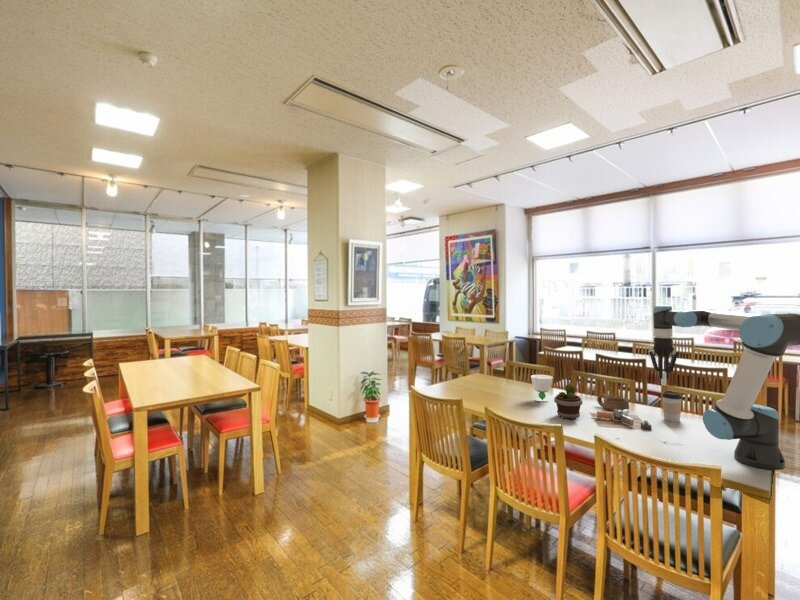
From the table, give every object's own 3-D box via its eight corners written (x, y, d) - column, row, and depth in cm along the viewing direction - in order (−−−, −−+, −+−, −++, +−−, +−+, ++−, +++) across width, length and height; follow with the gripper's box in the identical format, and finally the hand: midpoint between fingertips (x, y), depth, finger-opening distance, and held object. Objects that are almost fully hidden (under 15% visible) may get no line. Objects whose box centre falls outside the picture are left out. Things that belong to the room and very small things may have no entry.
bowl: (590, 408, 225) (592, 391, 227) (600, 410, 234) (601, 394, 236) (623, 414, 212) (624, 396, 214) (632, 416, 220) (633, 399, 222)
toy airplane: (652, 433, 188) (651, 421, 188) (596, 429, 195) (596, 418, 195) (637, 418, 211) (636, 407, 211) (587, 415, 218) (587, 405, 218)
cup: (526, 398, 254) (526, 375, 254) (543, 396, 258) (543, 373, 258) (540, 404, 241) (539, 379, 241) (557, 402, 245) (557, 377, 245)
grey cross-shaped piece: (628, 416, 209) (628, 406, 209) (633, 427, 192) (633, 416, 192) (595, 413, 215) (595, 404, 215) (598, 423, 198) (598, 413, 198)
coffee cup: (685, 422, 201) (685, 394, 201) (666, 422, 203) (666, 394, 203) (677, 417, 210) (676, 390, 210) (658, 416, 212) (658, 390, 212)
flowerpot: (575, 423, 205) (575, 386, 205) (549, 416, 217) (548, 381, 216) (587, 417, 214) (587, 382, 214) (561, 411, 226) (561, 377, 226)
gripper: (675, 336, 186) (676, 384, 187) (645, 336, 190) (645, 382, 190) (681, 338, 179) (682, 387, 180) (650, 337, 183) (651, 386, 183)
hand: (663, 385), depth 185 cm, fingers closed
